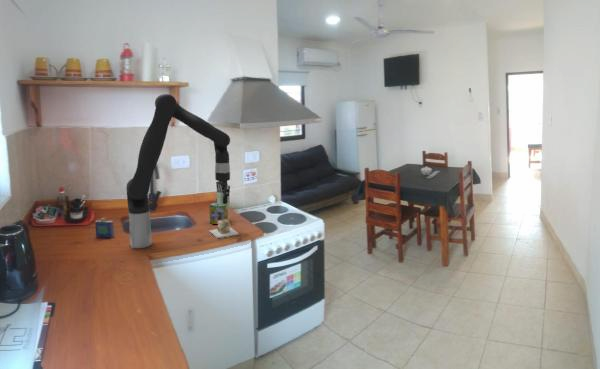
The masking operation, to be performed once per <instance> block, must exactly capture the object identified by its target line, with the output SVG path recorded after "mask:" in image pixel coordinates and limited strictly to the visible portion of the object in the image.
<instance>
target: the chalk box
mask: <svg viewBox="0 0 600 369" xmlns="http://www.w3.org/2000/svg"><path fill="white" fill-rule="evenodd" d="M215 201H216V202H214V201H213V202H212V203H211V204H210V205H209V207H208V208H209V224H218V221H219V220H225V219H227V220H228V221H229V209H228V208H229V207H228V206H229V205H223V206H220V205H219V204H217V198H216V200H215Z"/></svg>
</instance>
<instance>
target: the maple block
mask: <svg viewBox="0 0 600 369" xmlns="http://www.w3.org/2000/svg"><path fill="white" fill-rule="evenodd" d="M230 227H231V222H230V221H229V219H228V220H227V219H225V220H219V221H218V225H217V229H218V232H219V233H221V234H224V233H230Z"/></svg>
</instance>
